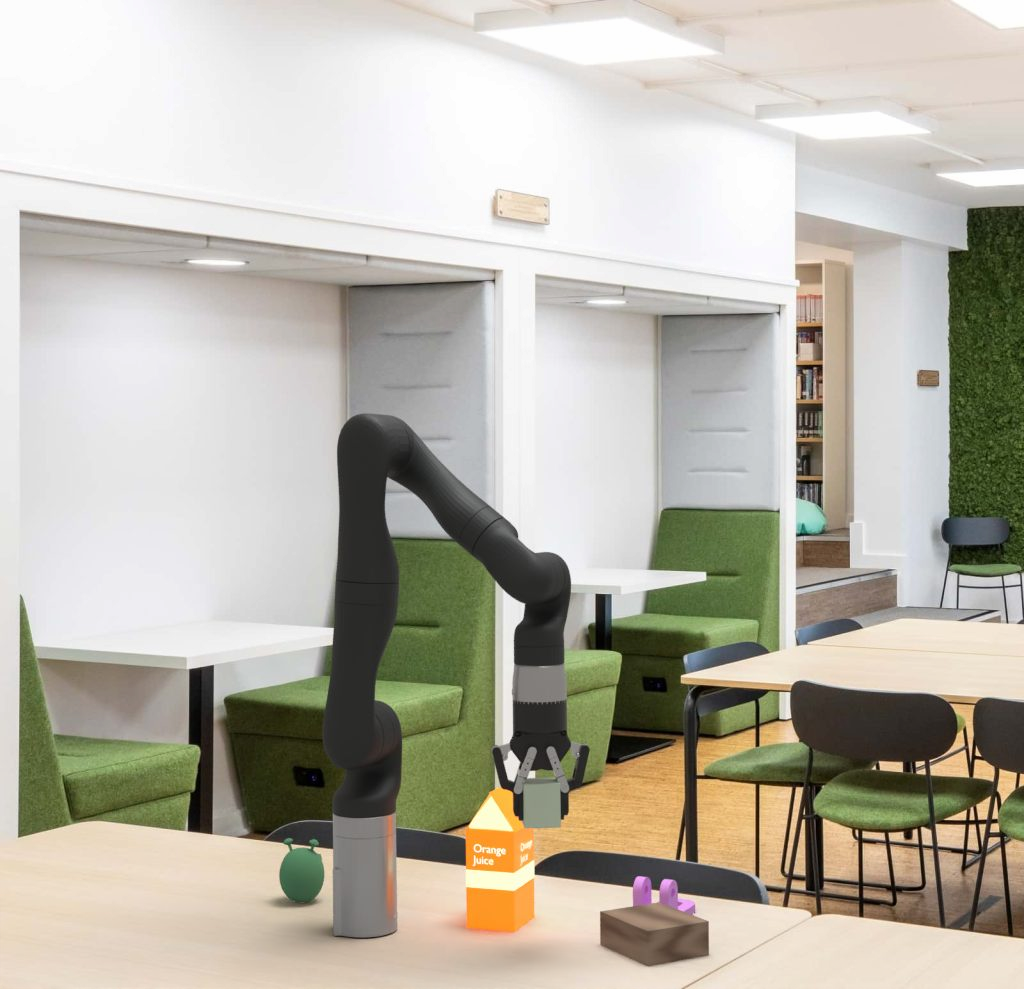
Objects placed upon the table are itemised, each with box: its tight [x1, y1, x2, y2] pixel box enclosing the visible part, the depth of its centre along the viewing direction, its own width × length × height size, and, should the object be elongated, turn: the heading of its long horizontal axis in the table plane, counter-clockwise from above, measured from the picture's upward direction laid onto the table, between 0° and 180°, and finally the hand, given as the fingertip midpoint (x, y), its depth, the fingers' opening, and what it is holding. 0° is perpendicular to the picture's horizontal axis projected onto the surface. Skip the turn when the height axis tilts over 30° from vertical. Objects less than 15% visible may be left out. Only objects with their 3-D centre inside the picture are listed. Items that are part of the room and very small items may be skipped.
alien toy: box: [278, 837, 325, 903], centre depth 254 cm, size 7×8×10 cm
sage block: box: [522, 777, 562, 829], centre depth 225 cm, size 5×5×6 cm
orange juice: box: [465, 786, 535, 933], centre depth 240 cm, size 8×9×20 cm
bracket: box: [632, 875, 696, 915], centre depth 242 cm, size 13×6×7 cm, turn 153°
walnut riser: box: [599, 901, 710, 967], centre depth 225 cm, size 10×12×5 cm
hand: (541, 818), depth 225 cm, fingers closed on sage block, 5 cm apart
